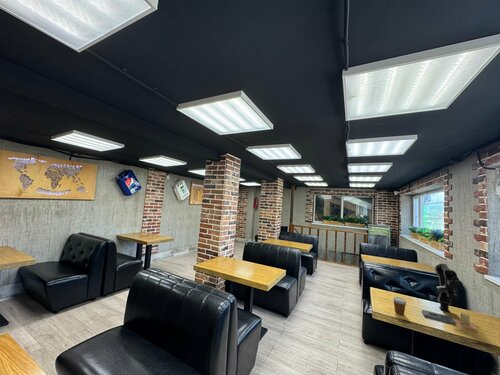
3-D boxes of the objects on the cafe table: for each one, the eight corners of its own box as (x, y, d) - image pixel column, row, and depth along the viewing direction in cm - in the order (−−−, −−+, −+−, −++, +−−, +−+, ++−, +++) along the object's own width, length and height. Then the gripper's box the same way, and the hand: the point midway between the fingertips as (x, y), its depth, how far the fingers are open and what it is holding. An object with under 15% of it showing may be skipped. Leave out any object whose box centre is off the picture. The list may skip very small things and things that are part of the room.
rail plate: (421, 311, 184) (421, 309, 184) (451, 319, 174) (451, 316, 174) (424, 316, 176) (424, 314, 176) (456, 325, 166) (455, 322, 166)
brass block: (461, 322, 169) (460, 312, 170) (467, 324, 167) (467, 314, 168) (462, 324, 166) (462, 314, 166) (469, 326, 164) (469, 316, 164)
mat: (454, 320, 173) (454, 319, 173) (471, 324, 168) (471, 323, 168) (459, 325, 165) (459, 325, 165) (477, 330, 160) (477, 329, 160)
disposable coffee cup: (400, 317, 173) (400, 302, 174) (390, 311, 182) (390, 297, 183) (409, 316, 176) (409, 301, 176) (398, 310, 185) (398, 296, 186)
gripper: (434, 279, 192) (434, 296, 191) (440, 285, 176) (440, 304, 175) (450, 282, 186) (451, 299, 185) (458, 289, 170) (458, 308, 169)
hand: (449, 302), depth 179 cm, fingers open, 9 cm apart
